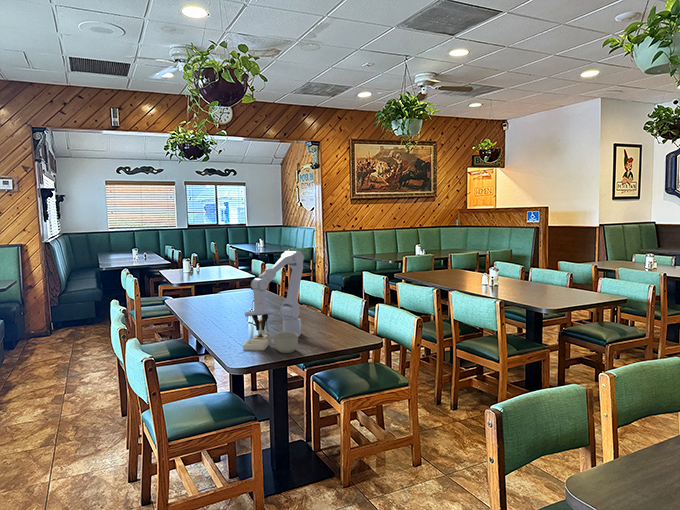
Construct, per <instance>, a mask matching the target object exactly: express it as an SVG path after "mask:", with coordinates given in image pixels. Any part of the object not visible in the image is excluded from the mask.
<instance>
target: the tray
mask: <svg viewBox="0 0 680 510" xmlns="http://www.w3.org/2000/svg"><path fill="white" fill-rule="evenodd" d="M267 340H268V339H253V338H252V339H251V338H250V339H249V338H248V339H247V340H246V341H245V342H244V343H243V344H242V350H243V351H265V350H266V349H267V348H268V346H269V345H270V344H269V343H268V341H267Z"/></svg>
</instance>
